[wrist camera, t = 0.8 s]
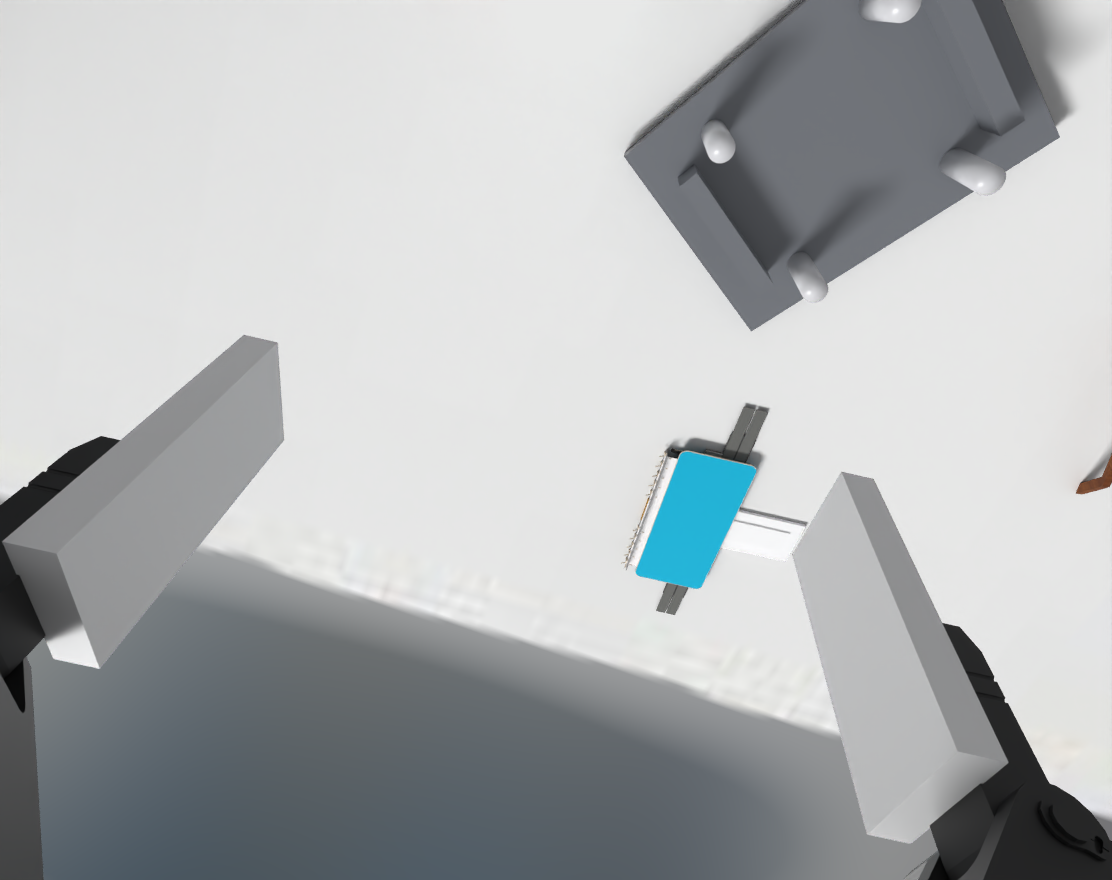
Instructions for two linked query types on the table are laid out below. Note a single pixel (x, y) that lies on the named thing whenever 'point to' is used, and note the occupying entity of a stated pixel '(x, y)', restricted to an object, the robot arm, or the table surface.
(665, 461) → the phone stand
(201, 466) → the robot arm
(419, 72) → the table surface
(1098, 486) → the glasses
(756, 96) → the cradle
